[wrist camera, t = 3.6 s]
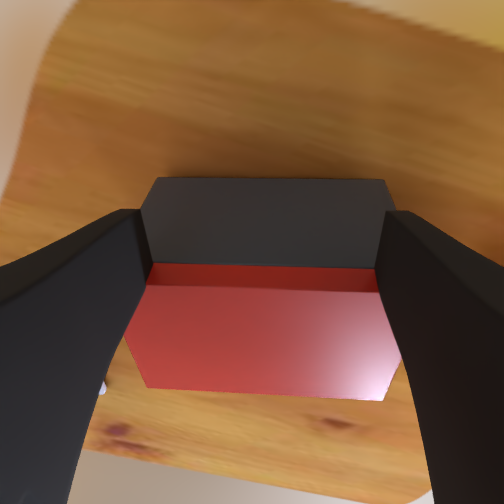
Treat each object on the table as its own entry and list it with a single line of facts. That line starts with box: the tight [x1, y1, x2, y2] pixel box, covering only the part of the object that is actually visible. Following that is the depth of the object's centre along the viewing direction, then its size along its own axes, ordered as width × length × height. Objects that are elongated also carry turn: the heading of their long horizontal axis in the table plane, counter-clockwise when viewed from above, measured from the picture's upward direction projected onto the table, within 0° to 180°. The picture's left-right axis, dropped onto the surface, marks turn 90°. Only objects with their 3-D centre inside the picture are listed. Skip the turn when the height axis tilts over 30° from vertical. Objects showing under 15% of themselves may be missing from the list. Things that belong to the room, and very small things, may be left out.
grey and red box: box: [124, 177, 402, 401], centre depth 15 cm, size 10×7×7 cm, turn 91°
